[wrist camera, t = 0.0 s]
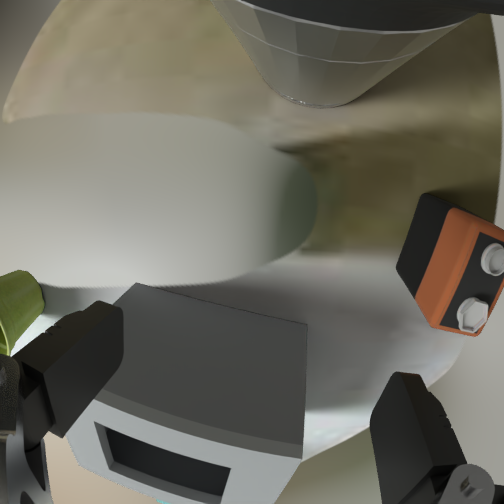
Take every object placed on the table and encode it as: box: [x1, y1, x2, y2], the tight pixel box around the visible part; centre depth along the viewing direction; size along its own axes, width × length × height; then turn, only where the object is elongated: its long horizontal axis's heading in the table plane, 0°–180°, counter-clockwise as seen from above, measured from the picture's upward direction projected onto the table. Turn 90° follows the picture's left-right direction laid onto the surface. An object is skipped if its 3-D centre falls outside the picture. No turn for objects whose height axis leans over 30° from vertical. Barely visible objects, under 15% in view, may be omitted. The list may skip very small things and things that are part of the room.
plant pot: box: [0, 270, 45, 356], centre depth 28 cm, size 9×9×9 cm
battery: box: [396, 193, 504, 337], centre depth 18 cm, size 4×7×10 cm, turn 167°
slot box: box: [65, 283, 307, 504], centre depth 24 cm, size 12×16×14 cm
